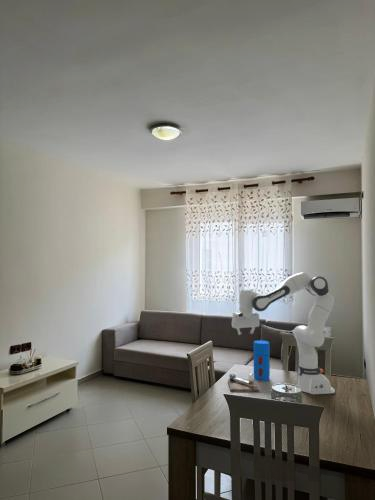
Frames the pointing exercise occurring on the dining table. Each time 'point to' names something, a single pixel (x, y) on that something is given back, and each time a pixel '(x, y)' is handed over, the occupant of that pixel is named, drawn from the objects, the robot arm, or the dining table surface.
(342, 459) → the dining table surface
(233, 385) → the press base
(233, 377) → the lever
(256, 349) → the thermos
